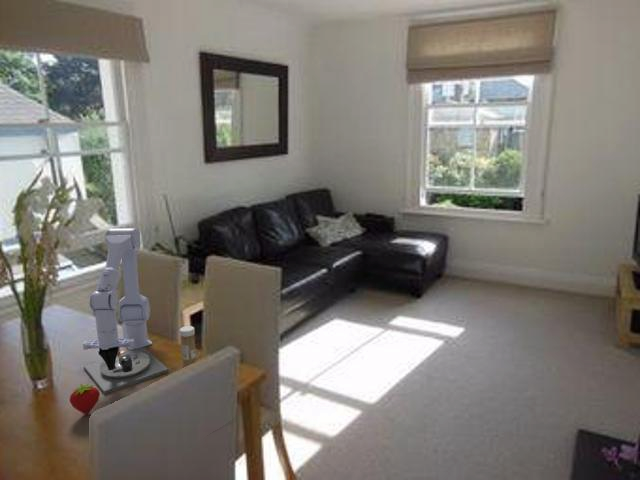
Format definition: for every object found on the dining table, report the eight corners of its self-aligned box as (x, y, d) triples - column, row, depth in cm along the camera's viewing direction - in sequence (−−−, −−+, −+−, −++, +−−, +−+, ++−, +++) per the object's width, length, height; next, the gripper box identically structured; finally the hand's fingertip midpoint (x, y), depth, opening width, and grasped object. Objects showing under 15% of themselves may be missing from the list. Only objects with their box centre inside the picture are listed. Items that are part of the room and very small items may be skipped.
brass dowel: (115, 357, 167) (114, 346, 166) (119, 355, 168) (118, 345, 167) (116, 358, 166) (115, 347, 165) (121, 357, 167) (119, 346, 166)
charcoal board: (84, 368, 161) (83, 365, 161) (144, 349, 174) (143, 347, 174) (104, 394, 147) (104, 391, 147) (168, 371, 159) (168, 368, 159)
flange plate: (92, 364, 161) (90, 350, 160) (136, 349, 171) (135, 336, 170) (111, 384, 150) (109, 369, 149) (157, 367, 160) (156, 352, 159)
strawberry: (102, 416, 136) (98, 383, 134) (72, 423, 133) (67, 390, 131) (101, 405, 141) (97, 373, 139) (72, 411, 138) (67, 379, 136)
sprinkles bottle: (198, 366, 163) (196, 329, 159) (185, 370, 160) (182, 332, 157) (194, 361, 166) (191, 324, 163) (180, 364, 164) (177, 327, 160)
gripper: (77, 335, 146) (82, 376, 149) (128, 332, 147) (132, 373, 151) (85, 325, 152) (90, 364, 156) (134, 323, 154) (138, 362, 157)
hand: (111, 368), depth 154 cm, fingers closed
